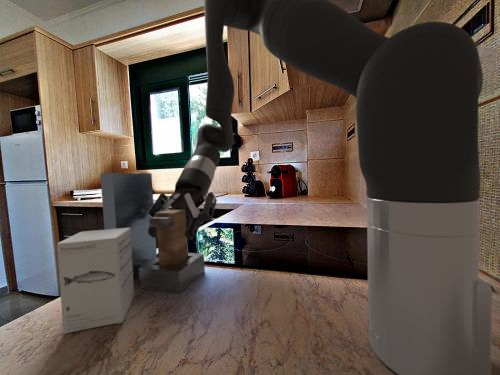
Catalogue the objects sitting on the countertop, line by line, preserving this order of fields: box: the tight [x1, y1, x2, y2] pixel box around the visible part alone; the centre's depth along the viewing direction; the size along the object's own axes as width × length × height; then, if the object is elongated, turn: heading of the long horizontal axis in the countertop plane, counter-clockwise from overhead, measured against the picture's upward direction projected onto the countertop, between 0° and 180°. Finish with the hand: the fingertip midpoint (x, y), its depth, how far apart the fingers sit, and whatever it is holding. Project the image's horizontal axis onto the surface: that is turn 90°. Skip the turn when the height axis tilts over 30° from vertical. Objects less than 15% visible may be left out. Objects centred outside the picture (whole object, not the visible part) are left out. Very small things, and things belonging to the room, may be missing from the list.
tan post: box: [149, 209, 189, 267], centre depth 42 cm, size 4×6×14 cm
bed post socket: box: [99, 172, 206, 295], centre depth 44 cm, size 16×10×22 cm, turn 73°
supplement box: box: [56, 228, 135, 335], centre depth 33 cm, size 7×7×13 cm
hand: (169, 236), depth 42 cm, fingers open, 8 cm apart
